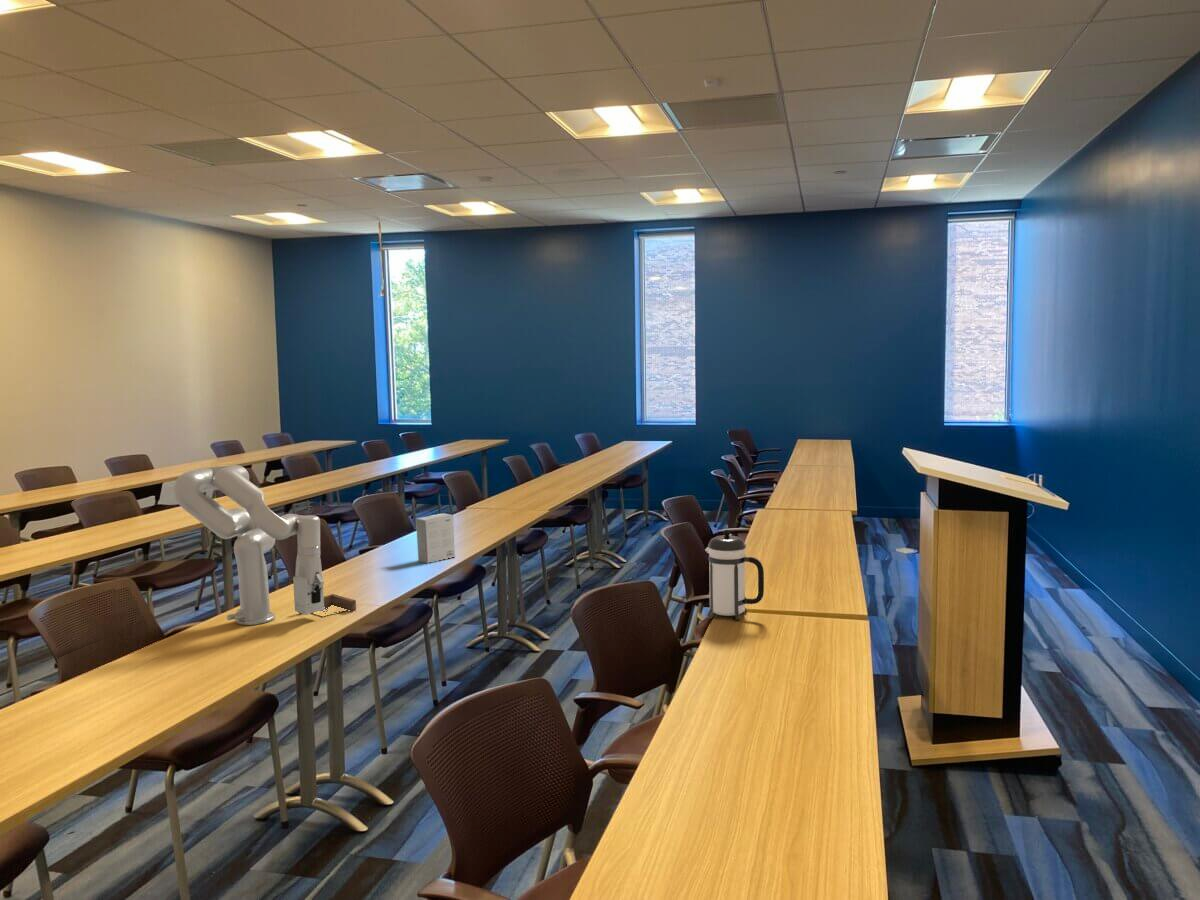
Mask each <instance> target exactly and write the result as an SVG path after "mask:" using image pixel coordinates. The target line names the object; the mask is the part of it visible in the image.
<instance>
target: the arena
mask: <svg viewBox="0 0 1200 900" xmlns="http://www.w3.org/2000/svg"><path fill="white" fill-rule="evenodd" d="M331 605H334V606H337V607H341V608H344V609H347V610H350V611H349V612H351V611H355V610H356V611H357V600H355V599H353V598H348V597H346V596H341V595H338V594H334V593H332V594H331V593H330V594H327V595H324V607H325V608H324V609H325V610H327V609H328V607H330V606H331ZM326 608H327V609H326ZM321 611H323V610H321ZM327 611H328V610H327ZM327 611H326V612H327ZM356 611H355V612H356ZM323 612H325V611H323ZM339 612H340V611H339ZM298 613H299V612H297V614H298ZM334 613H337V612H334ZM300 614H301V615H303V614H302V613H299V614H298V615H300ZM325 614H326V613H325Z"/></svg>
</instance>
